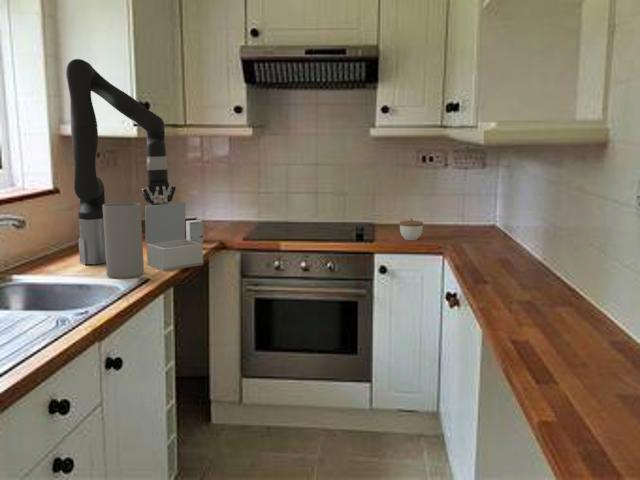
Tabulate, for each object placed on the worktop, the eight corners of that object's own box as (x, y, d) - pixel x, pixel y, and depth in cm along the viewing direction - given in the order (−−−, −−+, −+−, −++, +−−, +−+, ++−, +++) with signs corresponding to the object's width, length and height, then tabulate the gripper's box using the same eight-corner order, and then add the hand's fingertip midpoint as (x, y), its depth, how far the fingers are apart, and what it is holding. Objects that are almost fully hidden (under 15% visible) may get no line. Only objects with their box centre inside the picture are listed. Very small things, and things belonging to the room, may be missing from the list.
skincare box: (190, 250, 271) (189, 222, 269) (186, 249, 274) (185, 220, 272) (204, 249, 274) (202, 220, 272) (199, 247, 278) (198, 219, 276)
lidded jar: (401, 236, 303) (401, 216, 301) (424, 237, 300) (424, 217, 298) (397, 240, 292) (397, 219, 291) (421, 241, 290) (421, 220, 288)
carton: (163, 271, 233) (162, 249, 231) (147, 264, 243) (146, 243, 242) (203, 265, 242) (202, 244, 241) (186, 259, 253) (185, 239, 252)
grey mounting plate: (145, 206, 238) (139, 203, 243) (146, 243, 242) (140, 240, 246) (185, 202, 248) (178, 200, 252) (185, 239, 252) (178, 235, 256)
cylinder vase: (147, 270, 233) (144, 202, 229) (139, 278, 221) (135, 206, 216) (113, 271, 233) (108, 202, 228) (102, 279, 221) (97, 206, 216)
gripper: (143, 169, 238) (146, 216, 241) (178, 167, 247) (181, 212, 250) (135, 169, 244) (138, 214, 247) (169, 167, 253) (172, 211, 256)
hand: (160, 213), depth 248 cm, fingers closed on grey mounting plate, 3 cm apart
